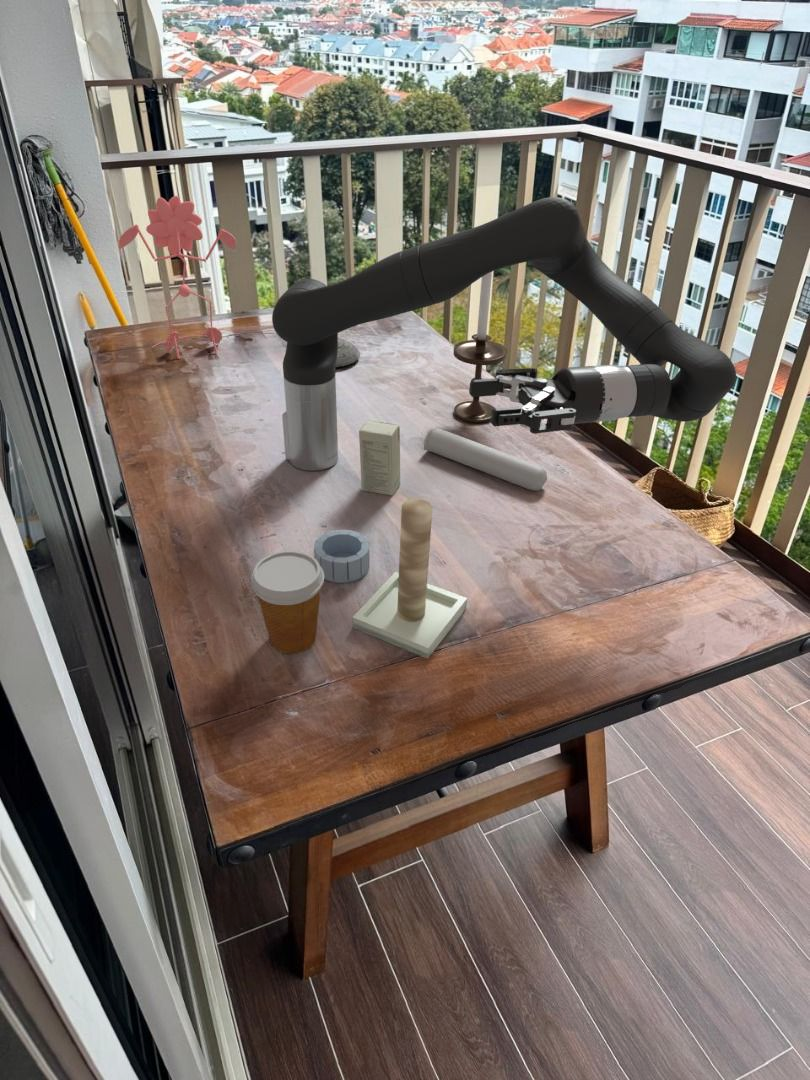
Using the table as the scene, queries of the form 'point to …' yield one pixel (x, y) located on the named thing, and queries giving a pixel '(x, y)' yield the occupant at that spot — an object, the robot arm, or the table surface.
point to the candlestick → (479, 359)
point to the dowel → (414, 559)
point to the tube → (485, 459)
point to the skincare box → (380, 457)
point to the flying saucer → (346, 353)
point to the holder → (343, 555)
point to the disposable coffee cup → (289, 598)
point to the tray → (411, 636)
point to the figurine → (178, 248)
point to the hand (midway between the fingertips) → (480, 402)
